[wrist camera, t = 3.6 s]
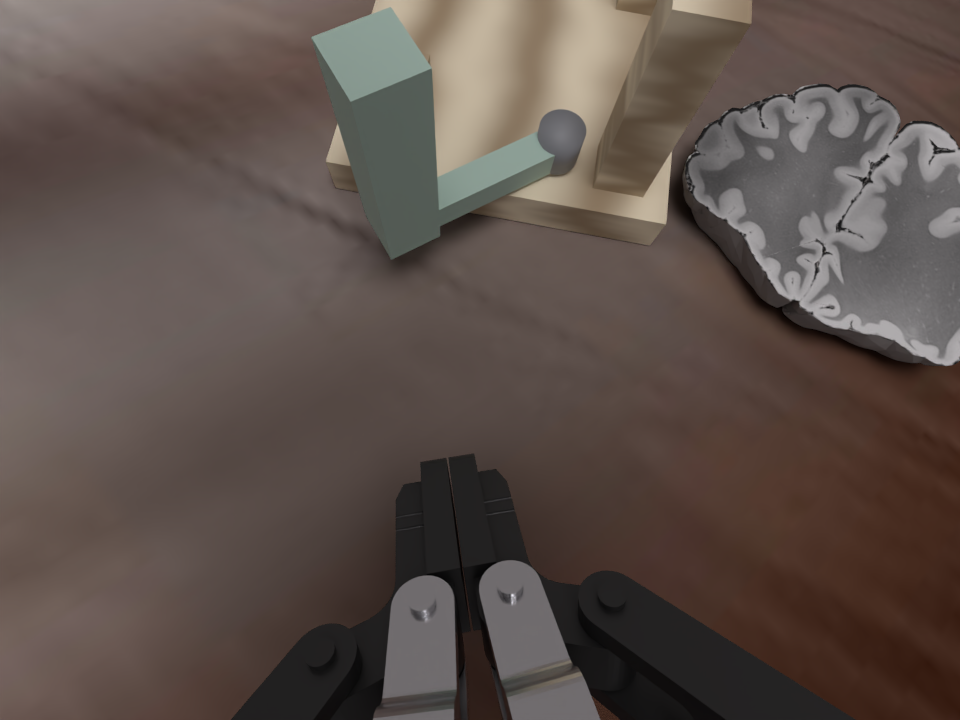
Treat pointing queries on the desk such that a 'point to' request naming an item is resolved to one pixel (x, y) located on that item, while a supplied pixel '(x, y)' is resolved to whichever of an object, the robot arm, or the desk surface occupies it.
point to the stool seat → (570, 96)
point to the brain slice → (838, 216)
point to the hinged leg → (419, 136)
